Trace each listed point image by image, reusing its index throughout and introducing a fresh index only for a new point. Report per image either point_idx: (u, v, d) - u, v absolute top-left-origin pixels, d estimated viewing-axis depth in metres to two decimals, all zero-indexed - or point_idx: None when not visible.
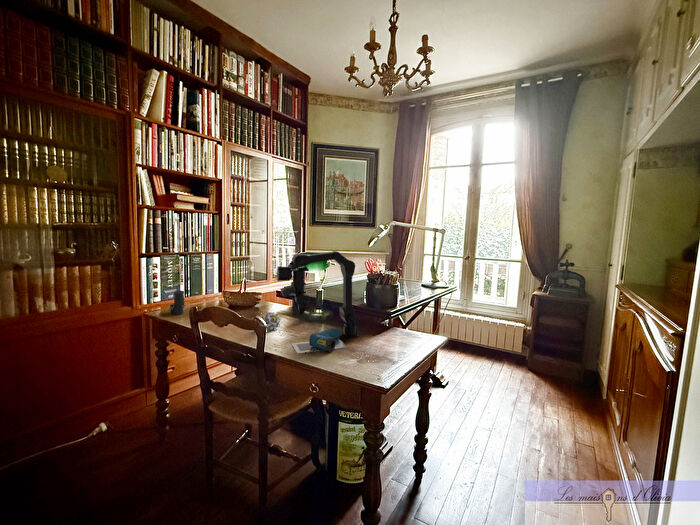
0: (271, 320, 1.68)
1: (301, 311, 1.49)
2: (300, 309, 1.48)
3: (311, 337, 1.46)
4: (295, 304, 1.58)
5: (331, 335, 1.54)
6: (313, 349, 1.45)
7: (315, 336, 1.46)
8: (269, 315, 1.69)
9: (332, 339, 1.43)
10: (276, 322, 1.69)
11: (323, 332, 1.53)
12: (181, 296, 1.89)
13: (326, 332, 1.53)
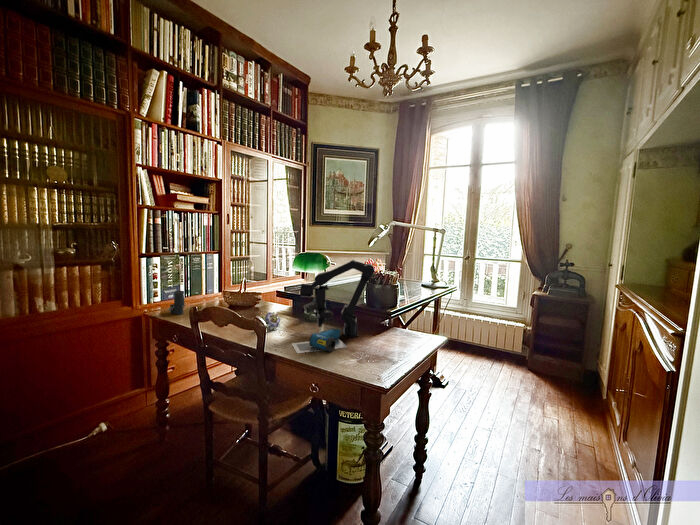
0: (271, 320, 1.68)
1: (320, 324, 1.66)
2: (319, 322, 1.65)
3: (311, 337, 1.46)
4: None
5: (331, 335, 1.54)
6: (313, 349, 1.45)
7: (315, 336, 1.46)
8: (269, 315, 1.69)
9: (332, 339, 1.43)
10: (276, 322, 1.69)
11: (323, 332, 1.53)
12: (181, 296, 1.89)
13: (326, 332, 1.53)
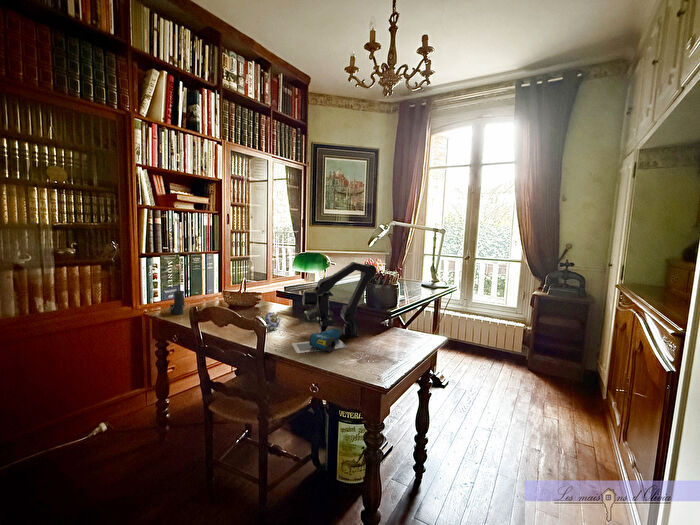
0: (271, 320, 1.68)
1: None
2: (322, 329, 1.60)
3: (311, 337, 1.46)
4: None
5: (331, 335, 1.54)
6: (313, 349, 1.45)
7: (315, 336, 1.46)
8: (269, 315, 1.69)
9: (332, 339, 1.43)
10: (276, 322, 1.69)
11: (323, 332, 1.53)
12: (181, 296, 1.89)
13: (326, 332, 1.53)
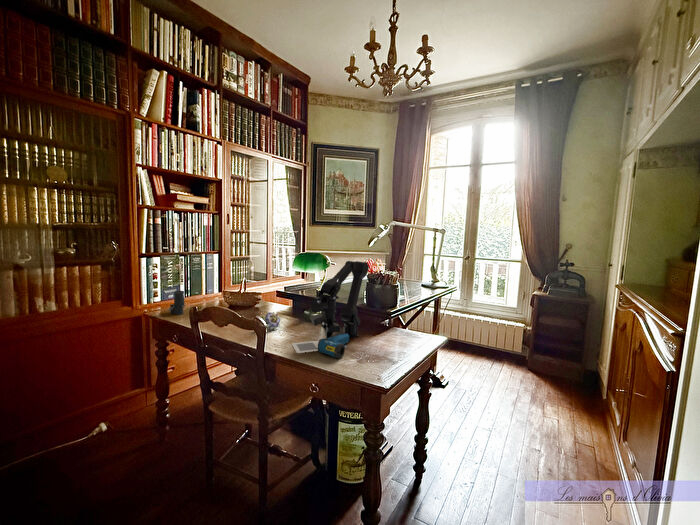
0: (271, 320, 1.68)
1: (328, 337, 1.52)
2: (327, 335, 1.51)
3: (319, 343, 1.39)
4: None
5: (340, 340, 1.47)
6: (313, 349, 1.45)
7: (323, 342, 1.39)
8: (269, 315, 1.69)
9: (341, 345, 1.36)
10: (276, 322, 1.69)
11: (332, 337, 1.47)
12: (181, 296, 1.89)
13: (335, 337, 1.47)
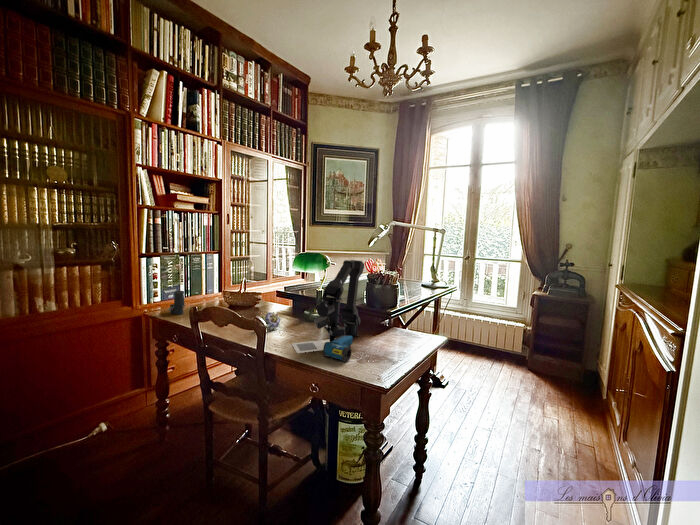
0: (271, 320, 1.68)
1: (332, 340, 1.48)
2: (331, 338, 1.48)
3: (325, 346, 1.36)
4: None
5: (345, 343, 1.45)
6: (313, 349, 1.45)
7: (329, 345, 1.36)
8: (269, 315, 1.69)
9: (348, 348, 1.34)
10: (276, 322, 1.69)
11: (336, 340, 1.44)
12: (181, 296, 1.89)
13: (339, 340, 1.44)
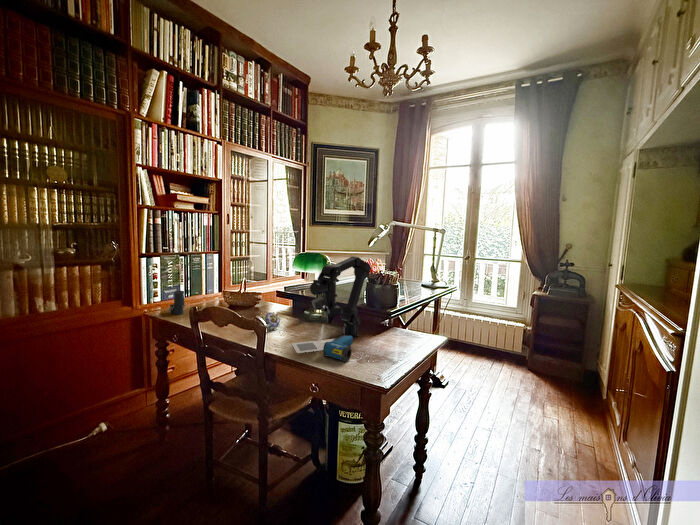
0: (271, 320, 1.68)
1: (330, 320, 1.52)
2: (328, 318, 1.51)
3: (325, 346, 1.36)
4: None
5: (345, 343, 1.45)
6: (313, 349, 1.45)
7: (329, 345, 1.36)
8: (269, 315, 1.69)
9: (348, 348, 1.34)
10: (276, 322, 1.69)
11: (336, 340, 1.44)
12: (181, 296, 1.89)
13: (339, 340, 1.44)
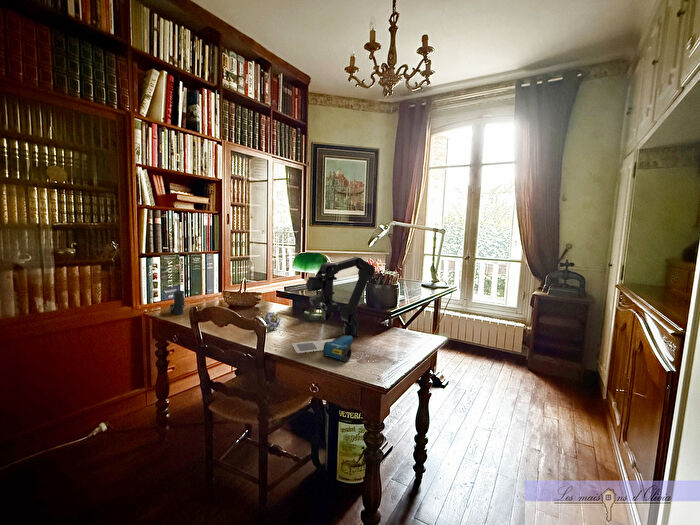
0: (271, 320, 1.68)
1: (327, 317, 1.55)
2: (326, 315, 1.54)
3: (325, 346, 1.36)
4: None
5: (345, 343, 1.45)
6: (313, 349, 1.45)
7: (329, 345, 1.36)
8: (269, 315, 1.69)
9: (348, 348, 1.34)
10: (276, 322, 1.69)
11: (336, 340, 1.44)
12: (181, 296, 1.89)
13: (339, 340, 1.44)
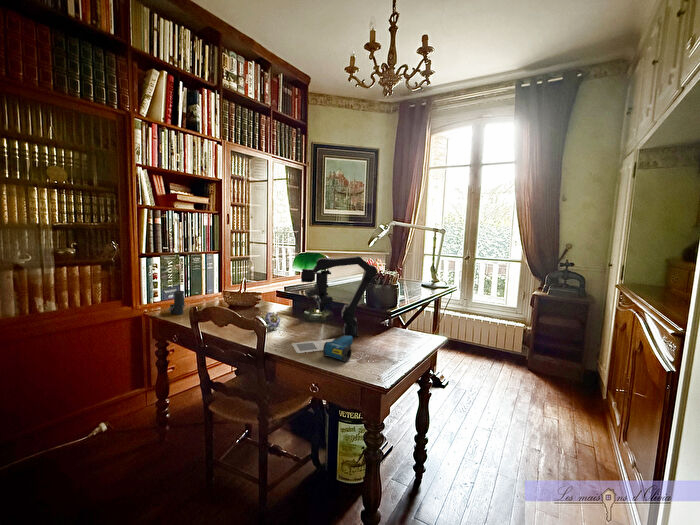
0: (271, 320, 1.68)
1: (321, 309, 1.63)
2: (320, 307, 1.62)
3: (325, 346, 1.36)
4: None
5: (345, 343, 1.45)
6: (313, 349, 1.45)
7: (329, 345, 1.36)
8: (269, 315, 1.69)
9: (348, 348, 1.34)
10: (276, 322, 1.69)
11: (336, 340, 1.44)
12: (181, 296, 1.89)
13: (339, 340, 1.44)
